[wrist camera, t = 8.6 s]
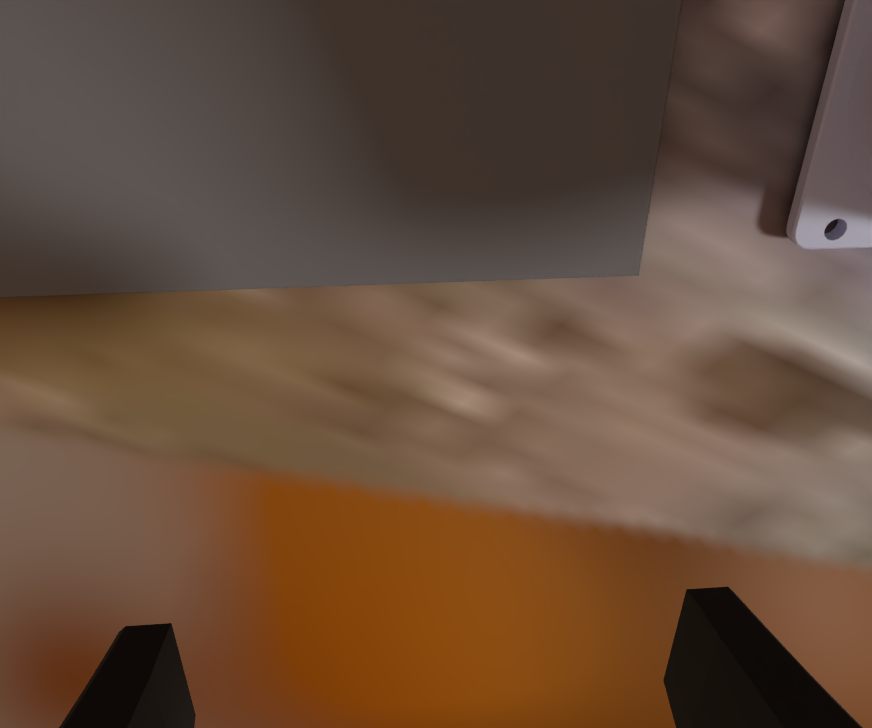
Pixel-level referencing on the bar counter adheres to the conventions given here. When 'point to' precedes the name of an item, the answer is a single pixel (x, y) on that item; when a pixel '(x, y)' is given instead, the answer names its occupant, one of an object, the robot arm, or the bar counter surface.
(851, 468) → the bar counter surface
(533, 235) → the tray
